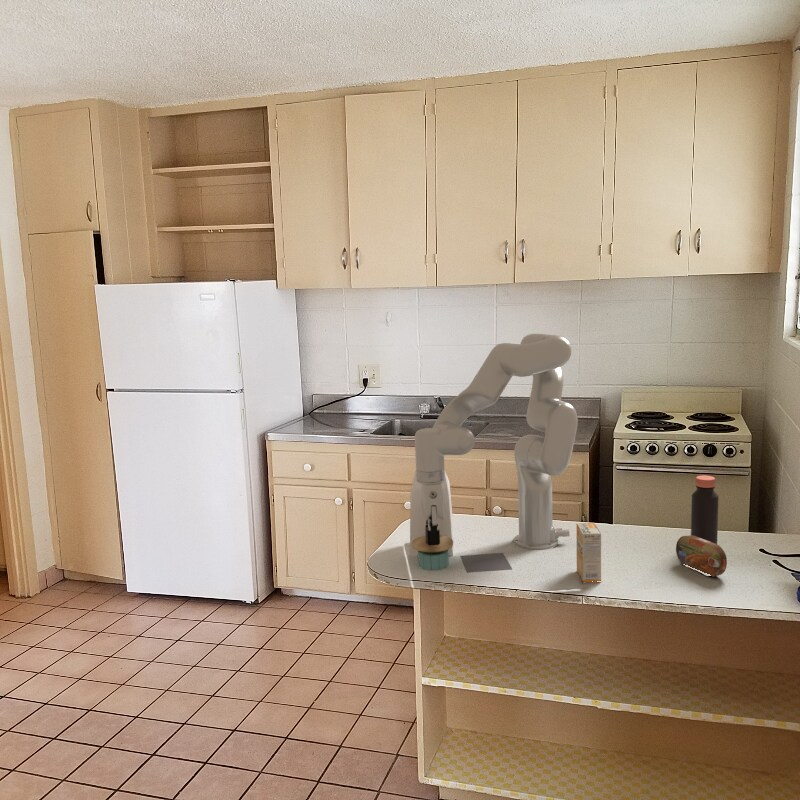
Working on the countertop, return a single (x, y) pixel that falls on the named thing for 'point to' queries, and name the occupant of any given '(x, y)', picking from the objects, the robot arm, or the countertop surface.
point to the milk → (420, 521)
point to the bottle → (705, 509)
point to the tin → (701, 555)
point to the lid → (423, 546)
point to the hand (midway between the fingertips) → (432, 541)
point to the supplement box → (588, 552)
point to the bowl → (433, 560)
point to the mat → (485, 562)
